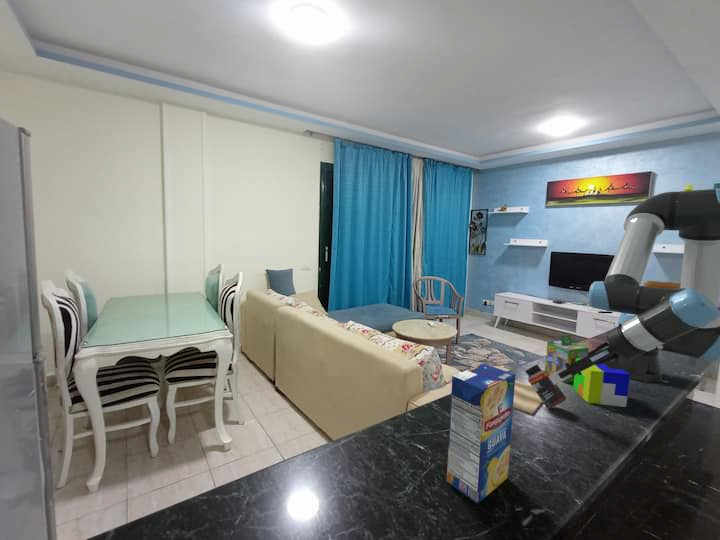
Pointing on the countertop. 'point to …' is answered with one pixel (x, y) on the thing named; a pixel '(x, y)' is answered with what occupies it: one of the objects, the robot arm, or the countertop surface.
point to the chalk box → (563, 355)
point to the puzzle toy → (603, 384)
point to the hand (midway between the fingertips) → (552, 379)
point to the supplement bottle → (544, 387)
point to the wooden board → (525, 398)
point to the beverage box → (480, 430)
